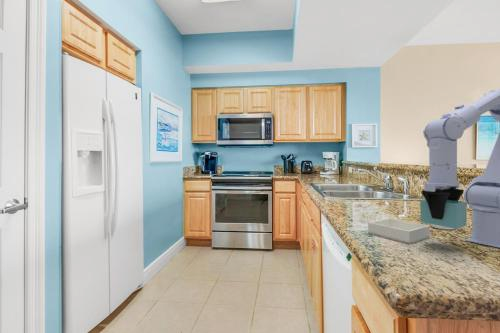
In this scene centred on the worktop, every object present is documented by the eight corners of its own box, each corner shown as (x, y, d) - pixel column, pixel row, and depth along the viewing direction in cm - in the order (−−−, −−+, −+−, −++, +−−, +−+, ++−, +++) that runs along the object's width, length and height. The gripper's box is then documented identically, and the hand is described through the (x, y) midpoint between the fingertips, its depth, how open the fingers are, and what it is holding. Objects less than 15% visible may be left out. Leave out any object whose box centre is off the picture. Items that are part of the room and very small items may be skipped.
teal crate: (430, 219, 70) (430, 198, 70) (466, 225, 63) (466, 201, 63) (420, 222, 67) (420, 199, 67) (456, 228, 61) (456, 203, 60)
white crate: (388, 228, 84) (388, 218, 84) (429, 237, 74) (429, 225, 74) (368, 233, 79) (368, 222, 79) (409, 244, 68) (409, 231, 68)
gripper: (438, 164, 72) (438, 211, 73) (411, 165, 65) (411, 217, 65) (469, 164, 66) (469, 216, 66) (443, 165, 59) (443, 223, 59)
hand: (442, 217), depth 65 cm, fingers closed on teal crate, 6 cm apart
